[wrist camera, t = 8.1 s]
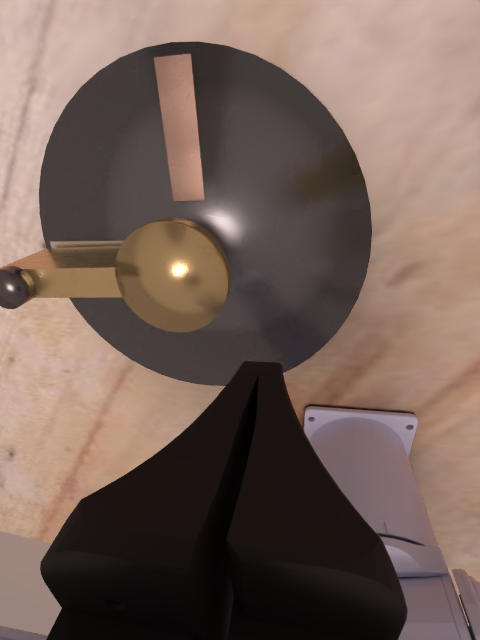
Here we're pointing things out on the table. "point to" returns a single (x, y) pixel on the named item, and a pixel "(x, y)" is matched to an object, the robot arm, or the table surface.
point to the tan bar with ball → (133, 275)
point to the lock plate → (214, 201)
